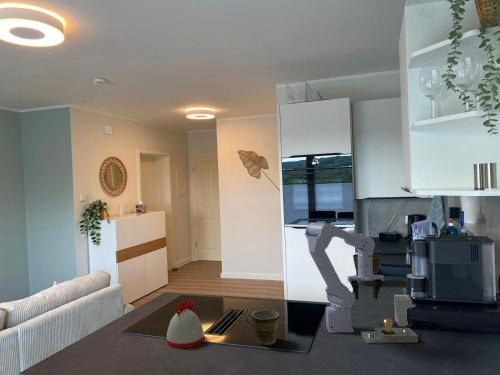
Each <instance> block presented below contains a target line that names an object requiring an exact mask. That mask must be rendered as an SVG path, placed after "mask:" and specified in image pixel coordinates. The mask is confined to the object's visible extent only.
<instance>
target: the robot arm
mask: <svg viewBox="0 0 500 375" xmlns="http://www.w3.org/2000/svg"><path fill="white" fill-rule="evenodd" d="M304 236H305V237H306V239H307V244H308V245H307V246H308V251H309V254H310V256H311V258H312V260H313V262H314V264H315V265H316V268H317V269H318V271H319V274H320V275H321V277H322V279H323V281H324V282H325V285H326V288H325V290H324V291H325V293H326V298H327V299H326V300H327V301H328V302H329V304H330V306H325V327H326V328H327V331H328V333H330V334H331V333H333V334H334V333H336V334H339V333H355V330H354V329H353V327H352V321H351V320H352V319H351V317H352V316H351V314H352V313H351V308H352V307H353V306H354V304H355V299H356V300H359V297H360V296H359V286H360V284H359V283H358V282H360V281H372V282H373V285H372V287H373V288H372V290H373V291H372V294H373V298H374V299H376V300H377V299H378V295H379V292H380V290H381V287H382V285H383V282H384V281H385V278H384V277H385V276H384V275H383V274H378V275H373V268H372V255H373V254H374V249H375V247H376V243H375V240H374V239H373V238H372V237H371V236H366V235H365V234H364V233H358V232H357V230H356V229H351V230H348V231H347V230H344V229H343V228H340V227H338V226H337V225H334V224H331V223H323V222H322V223H320V222H313V221H311V222H309V223H308V224H307V225H306V228H305V232H304ZM335 237H336V238H339V239H342V240H343V241H344V243H345V244H347V246H348V245H349V246H351V247H353V248H355V250H357V254H358V275H357V274H355V275H350V276H349V275H348V276H347V278H346V279H347V282H348V283H350V285H351V288H352V289H353V292H352V291H350V289H349V287H348V286H346V284H344V283H343V282H342V281H341V279H340V278H339V274H337V271H336V270H335V268H334V265H333V263H332V261H331V260H330V258H329V256H328V254H327V251H326V249H328V248H329V245H330V243H331V241H332V239H333V238H335Z"/></svg>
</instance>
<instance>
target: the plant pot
mask: <svg viewBox="0 0 500 375" xmlns="http://www.w3.org/2000/svg"><path fill="white" fill-rule="evenodd" d="M352 258H353V264H354V268H355V272H356V275H358V253H355V254H352ZM380 265H381V255H380V254H377V253H373V255H372V268H373V275H379V270H380ZM359 283H360V285H362V286H367V287H368V286H373V282H372V281H359Z"/></svg>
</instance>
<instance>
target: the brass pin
mask: <svg viewBox="0 0 500 375" xmlns="http://www.w3.org/2000/svg"><path fill="white" fill-rule="evenodd" d="M383 328H384V335H386V334H393V328H394V327H393V318H389V317H385V318H383Z"/></svg>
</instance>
